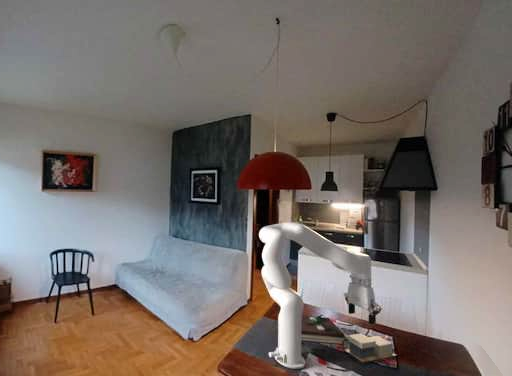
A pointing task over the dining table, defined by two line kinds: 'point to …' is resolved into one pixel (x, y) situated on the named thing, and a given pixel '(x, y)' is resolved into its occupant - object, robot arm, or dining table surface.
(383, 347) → the white book
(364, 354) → the grey book
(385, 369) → the dining table surface
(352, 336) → the white book
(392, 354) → the shelf board
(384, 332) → the dining table surface
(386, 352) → the white book
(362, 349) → the grey book
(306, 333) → the decorative book
